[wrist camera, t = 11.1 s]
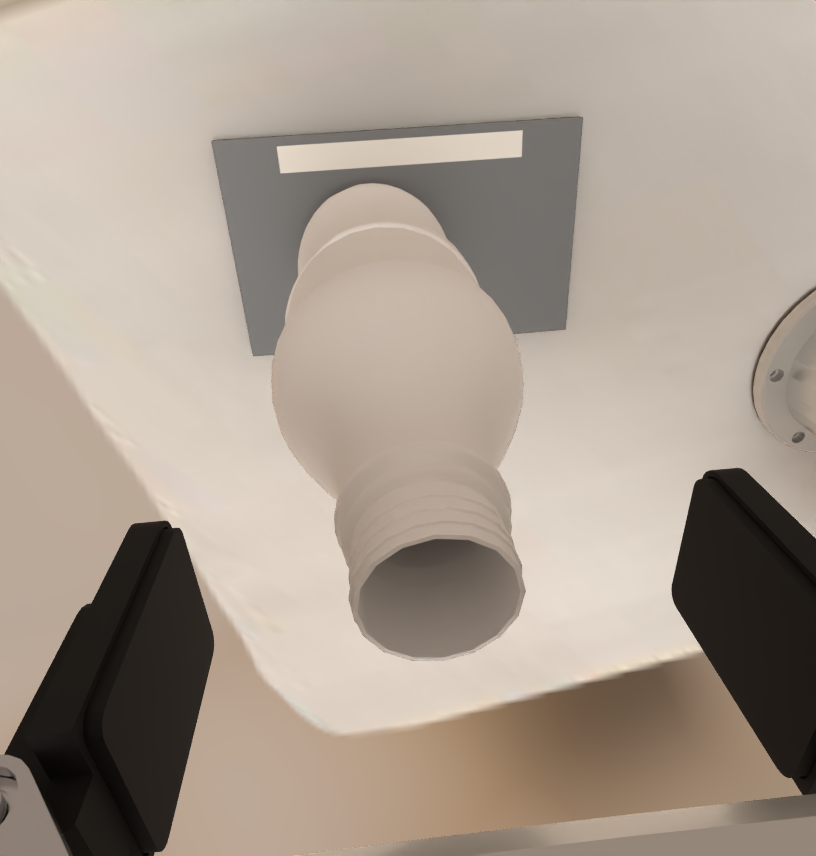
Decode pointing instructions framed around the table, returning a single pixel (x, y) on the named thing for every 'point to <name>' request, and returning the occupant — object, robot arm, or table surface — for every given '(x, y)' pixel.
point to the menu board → (427, 181)
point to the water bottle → (404, 421)
